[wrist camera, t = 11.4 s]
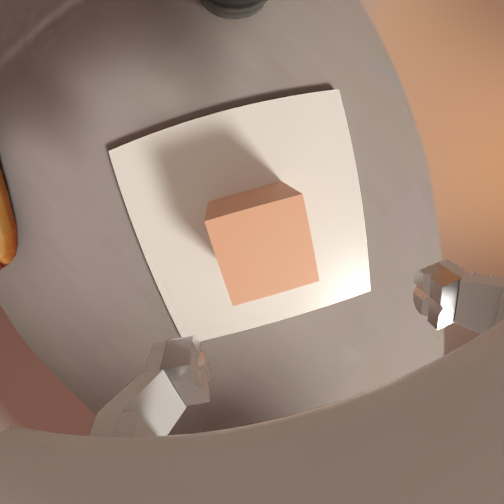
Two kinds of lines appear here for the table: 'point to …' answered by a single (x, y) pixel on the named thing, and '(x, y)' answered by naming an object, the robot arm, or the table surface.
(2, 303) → the table surface
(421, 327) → the table surface
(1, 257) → the hot dog
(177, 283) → the mat
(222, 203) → the cube
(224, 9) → the beverage cup
